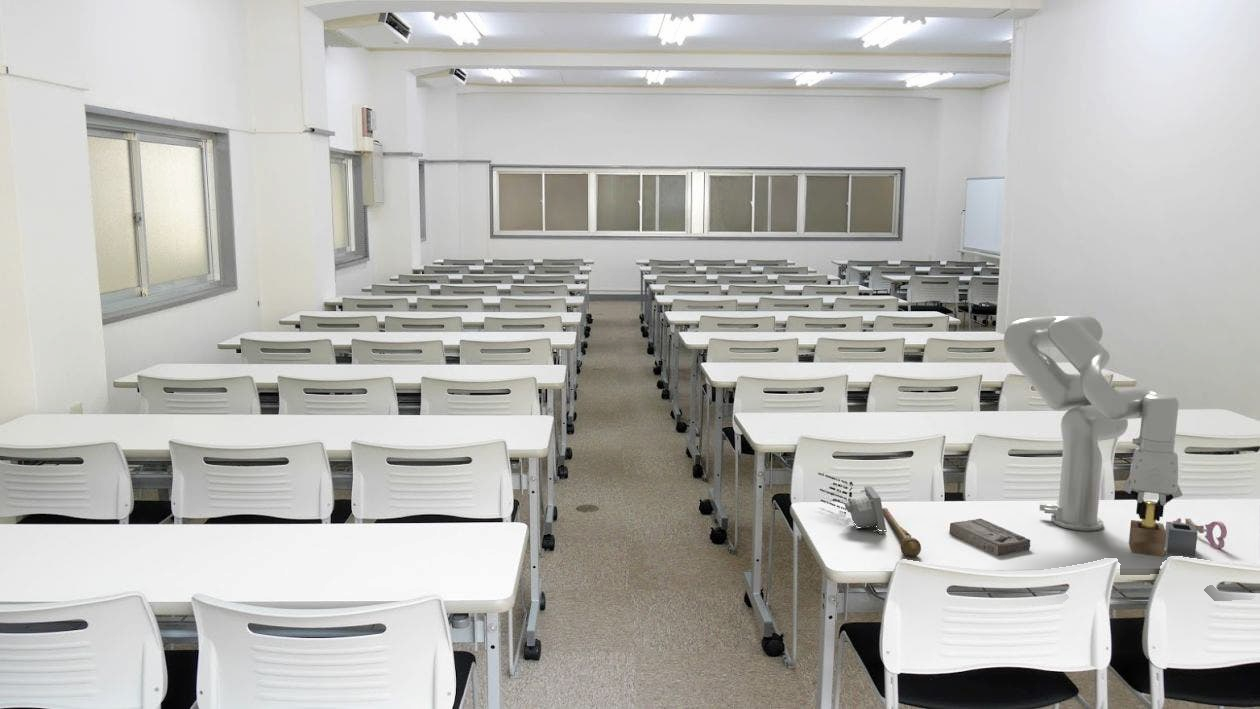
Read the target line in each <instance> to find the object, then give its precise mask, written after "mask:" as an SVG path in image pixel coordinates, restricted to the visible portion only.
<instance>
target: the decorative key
mask: <svg viewBox="0 0 1260 709" xmlns="http://www.w3.org/2000/svg"><path fill="white" fill-rule="evenodd" d="M1171 522H1174V523H1183V524H1191V525H1194V526H1195V528H1196V530H1197V532H1198V533H1199V534H1204V532H1206V533H1205V535H1204V538H1205V539H1206V540H1207V541H1208V543H1209V545H1210V546H1211V547H1212V548H1213V549H1223V548H1224V547H1225V543H1226V542H1225V539H1226V537H1227V534H1228V532H1227V531H1228V530H1227V527H1226V525H1225V523H1224V522H1222V521H1212V522H1210V523H1208V524H1204V525H1198V524H1196V523H1195V522H1193V521H1192V519H1191V518H1189V517H1188V518H1185V522H1183V521H1182V518H1177V519H1176V520H1172V521H1171ZM1216 526H1218V527H1219V529H1220V536H1218V537H1216V540H1217V541H1218V544H1217V543H1216V540H1215V539H1214V536H1213V532H1214V529H1215V527H1216Z"/></svg>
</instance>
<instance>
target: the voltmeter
mask: <svg viewBox="0 0 1260 709" xmlns="http://www.w3.org/2000/svg"><path fill="white" fill-rule="evenodd" d="M817 474H818V475H819V476H823V477H824V476H825V477H824V478H829V479H831V480H835V481H837V482H840V481H841V482H842V483H843V484H846V485H849V486H851V487H850V488H849V489H848V486H844V485H842V484H840V483H841V482H840V483H836V482H833V483H832V485H833V486H836V487H840V488H842V489H846V490H849V492H848V491H844V490H841V489H839V488H836V487H833V486H829V487H828V488H829V489H830V490H832V491H836V492H839V493H842V494H844V495H848V499H847V497H844V496H842V495H839V494H835V493H834V492H830V491H827V490H826V489H822V488H820V489H819V491H822V492H823V493H826V494H830V495H831V496H835V497H837V498H840V499H843V500H845V501H846V502H844V501H842V500H840V499H837V498H832V501H833V502H837V503H839V504H843V505H844V507H843V506H840V505H838V504H837V505H836V504H835V503H832V502H829V501H826V500H823V499H821V500H820V501H821V502H823V503H825V504H829V505H831V506H834V507H836V508H838V509H840V510H839V511H838V513H840V514H843V515H846V514H847V513H849V512H850V513H849V514H850V516H851V520H852V522H853V521H854V522H853V525H854V527H855V529H856V530H860V529H863V528H867V526H869V527H874V528H875V529H874V530H872V531H873V532H874V533H875V532H878V534H879V536H880V535H882V534H885V533H887V532H888V530H887V526H886V521H885V515H884V514H883V505H882V499H881V496H880V495H879V494H878V492H877V491H876V490H875V488H874V487H873V486H871V485H869V486H866V485H865V486H864V489H862V490H860V493H865V495H864V496H859V497H855V498H853V492H852V489H853V487H852V486H853V485H854V483H853V482H852V481H849V482H848V481H846V480H842V479H841V480H840V478H837V477H834V476H830V475H829V474H824V472H822V473H821V472H818V473H817ZM848 483H849V484H848ZM847 500H848V501H847ZM841 509H842V510H844V512H843V511H842V510H841ZM854 523H855V524H856V525H855V524H854ZM856 526H857V527H861V528H857V527H856ZM876 526H877V527H876ZM878 529H879V530H882V531H879V530H878ZM884 530H886V531H884Z"/></svg>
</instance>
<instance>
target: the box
mask: <svg viewBox="0 0 1260 709" xmlns="http://www.w3.org/2000/svg"><path fill="white" fill-rule="evenodd" d="M948 533H949V534H951V535H953V536H955V537H957V538H958V539H961V540H963V541H965V542H967V543H970V544H972V545H974V546H976V547H978V548H979V549H980V548H981V549H982V550H985V551H987V552H988V553H991V554H992V555H995V556H997V557H999V556H1004V555H1008V554H1013V553H1021V552H1022V551H1029V550H1030V548H1031V539H1029V538H1026V536H1022V535H1019V534H1018V533H1015V532H1013V531H1010V530H1008V529H1006V528H1004V527H1001V526H1000V525H996V524H994V523H992V522H991V521H990V522H989V521H988V520H985V519H982V518H975V519H969V520H964V521H963V520H961V521H955V522H950V524H949V532H948Z"/></svg>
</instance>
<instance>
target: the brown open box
mask: <svg viewBox="0 0 1260 709" xmlns="http://www.w3.org/2000/svg"><path fill="white" fill-rule="evenodd" d="M1141 523H1142V520H1136V519H1130V526H1129V527H1130V528H1129V537H1128V538H1129V539H1128V545H1129V549H1130V552H1131V553H1134V554H1141V555H1142V554H1143V555H1151V556H1157V557H1158V556H1159V557H1164V556H1165V551H1166V549H1165V541H1166V531H1165V529H1166V527H1165V526H1164V523H1162V522H1156V524H1155V530H1152V529H1144V528H1141Z"/></svg>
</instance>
